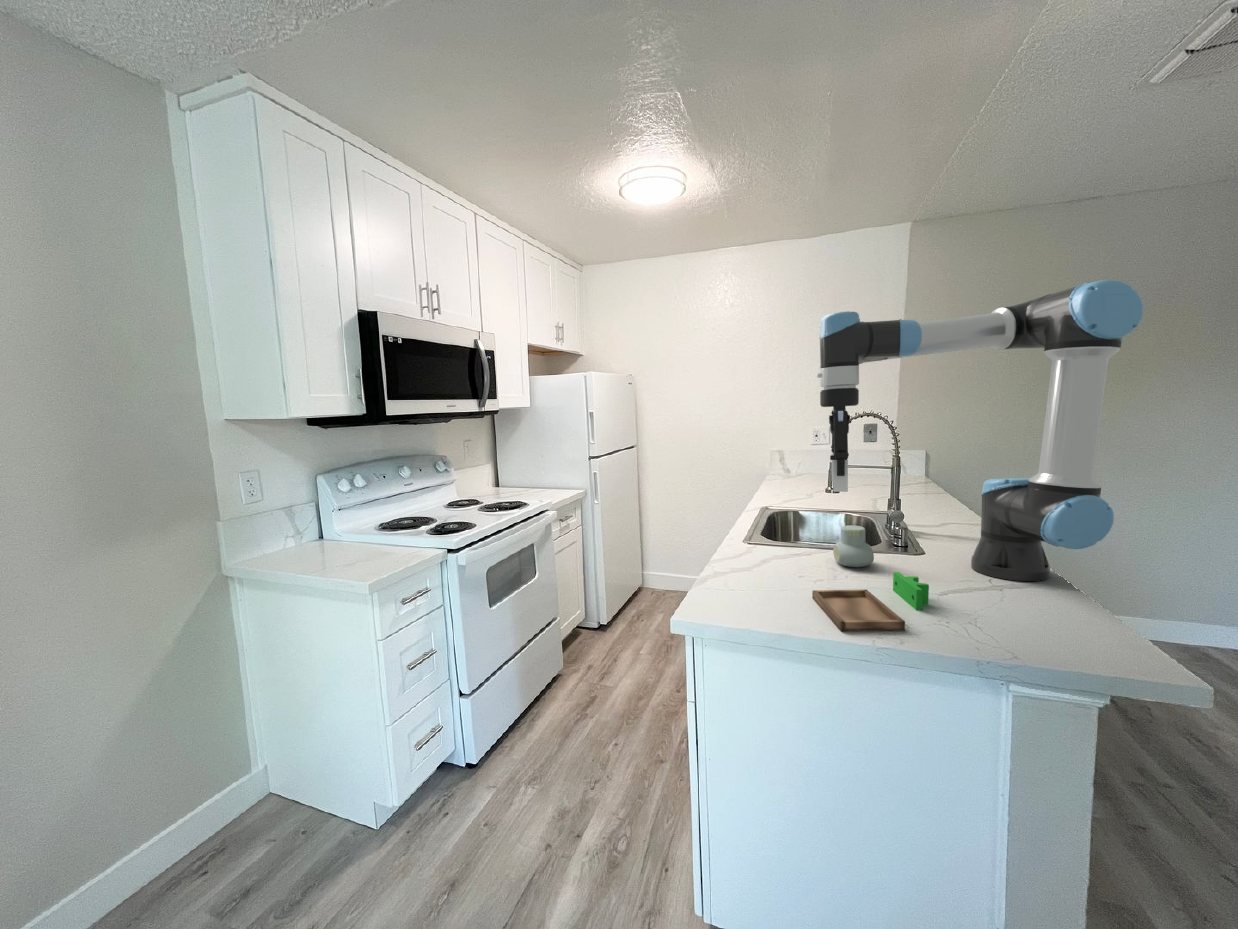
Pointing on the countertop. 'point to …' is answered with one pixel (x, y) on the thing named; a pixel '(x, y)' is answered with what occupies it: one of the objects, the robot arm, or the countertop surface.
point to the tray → (857, 611)
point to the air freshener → (853, 548)
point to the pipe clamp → (911, 590)
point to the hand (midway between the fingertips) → (839, 486)
